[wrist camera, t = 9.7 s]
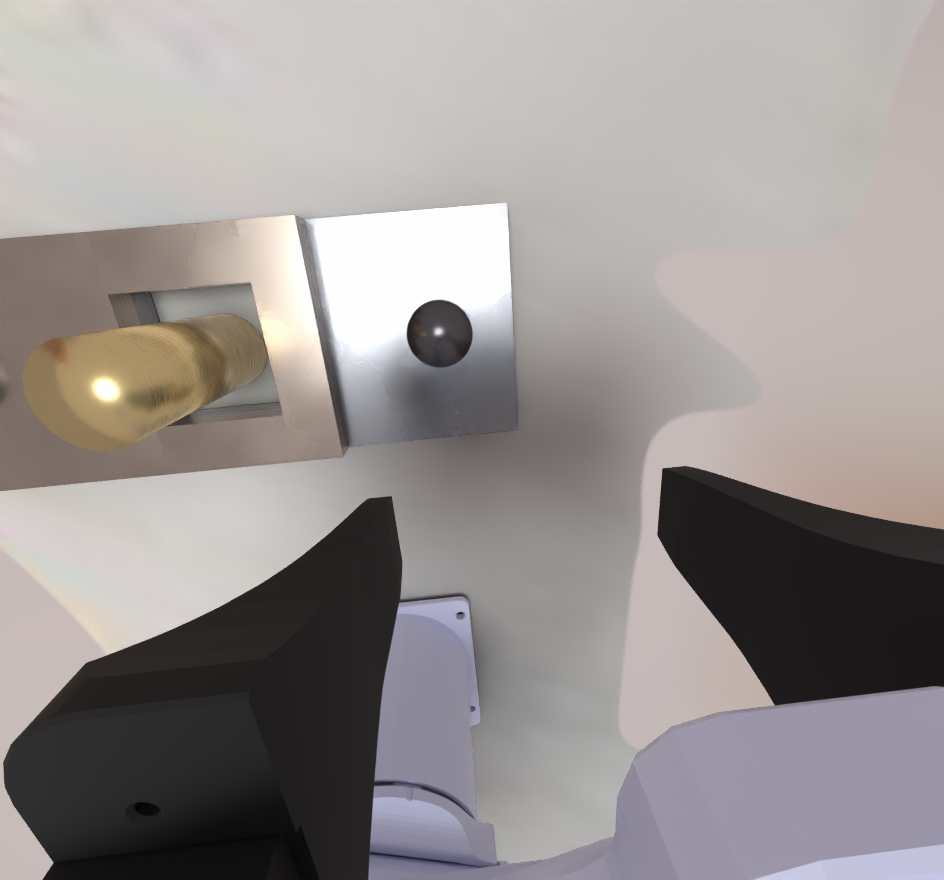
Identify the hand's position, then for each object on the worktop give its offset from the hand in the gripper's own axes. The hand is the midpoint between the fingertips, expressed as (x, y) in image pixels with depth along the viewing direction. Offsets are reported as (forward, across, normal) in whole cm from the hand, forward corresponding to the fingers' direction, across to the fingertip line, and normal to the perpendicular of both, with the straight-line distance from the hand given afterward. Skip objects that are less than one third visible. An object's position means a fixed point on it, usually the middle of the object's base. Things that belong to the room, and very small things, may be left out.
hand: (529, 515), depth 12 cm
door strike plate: (+9, +11, -4) cm, 15 cm away
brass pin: (+9, +11, -4) cm, 15 cm away
